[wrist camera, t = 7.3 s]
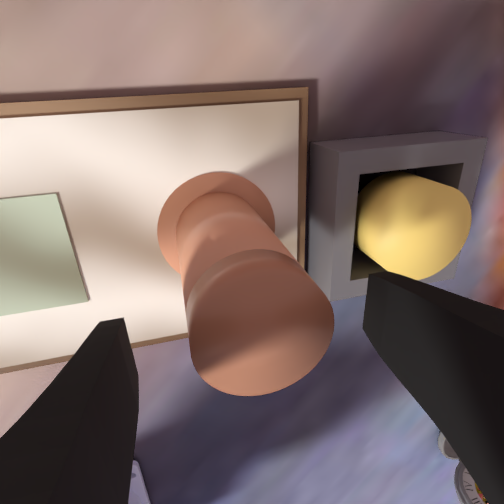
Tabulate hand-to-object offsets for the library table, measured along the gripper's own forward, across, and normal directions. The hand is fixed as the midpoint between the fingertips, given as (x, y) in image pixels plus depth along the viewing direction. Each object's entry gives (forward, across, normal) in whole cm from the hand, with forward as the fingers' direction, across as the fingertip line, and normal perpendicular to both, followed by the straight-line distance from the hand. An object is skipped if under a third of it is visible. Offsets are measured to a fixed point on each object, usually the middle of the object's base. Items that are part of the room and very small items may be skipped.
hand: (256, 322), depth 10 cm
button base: (+8, -9, 0) cm, 12 cm away
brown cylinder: (+7, 0, 0) cm, 7 cm away
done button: (+6, -9, 0) cm, 11 cm away
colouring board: (+8, +4, 0) cm, 9 cm away
